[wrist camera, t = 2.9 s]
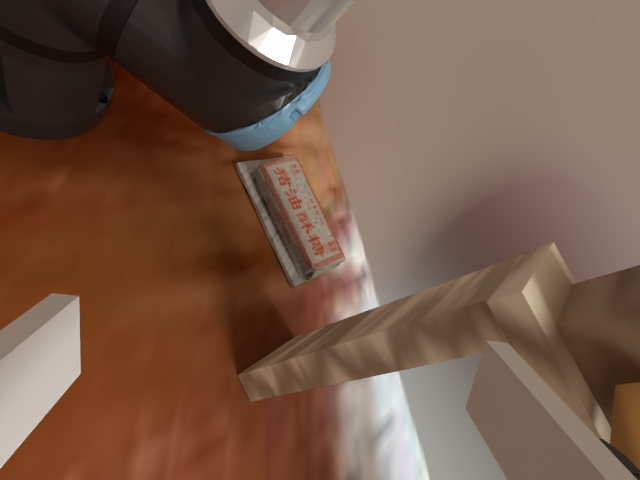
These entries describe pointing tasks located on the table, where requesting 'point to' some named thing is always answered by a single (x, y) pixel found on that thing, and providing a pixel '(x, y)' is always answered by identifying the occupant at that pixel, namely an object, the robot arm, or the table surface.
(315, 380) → the frame
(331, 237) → the packaged product
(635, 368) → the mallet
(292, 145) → the table surface
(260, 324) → the table surface
